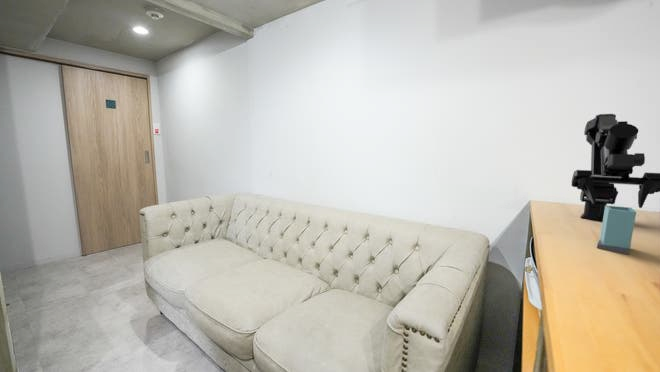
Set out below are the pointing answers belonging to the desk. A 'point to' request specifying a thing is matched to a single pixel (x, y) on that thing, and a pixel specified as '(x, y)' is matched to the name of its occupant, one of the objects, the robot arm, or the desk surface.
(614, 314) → the desk surface
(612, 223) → the teal sleeve
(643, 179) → the robot arm
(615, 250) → the dark grey square plate
